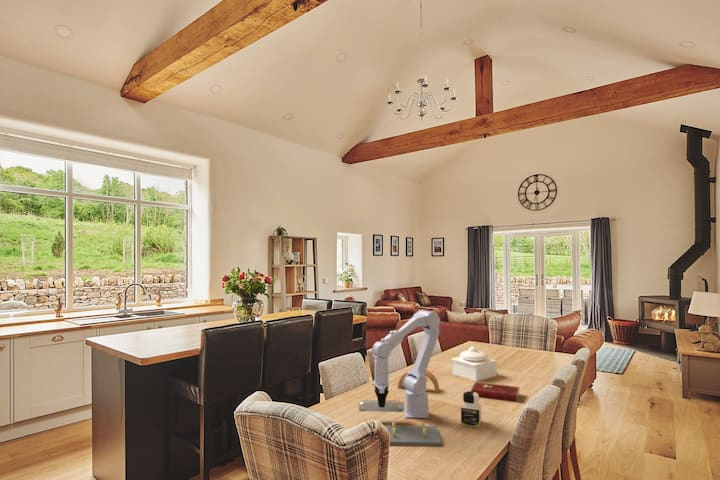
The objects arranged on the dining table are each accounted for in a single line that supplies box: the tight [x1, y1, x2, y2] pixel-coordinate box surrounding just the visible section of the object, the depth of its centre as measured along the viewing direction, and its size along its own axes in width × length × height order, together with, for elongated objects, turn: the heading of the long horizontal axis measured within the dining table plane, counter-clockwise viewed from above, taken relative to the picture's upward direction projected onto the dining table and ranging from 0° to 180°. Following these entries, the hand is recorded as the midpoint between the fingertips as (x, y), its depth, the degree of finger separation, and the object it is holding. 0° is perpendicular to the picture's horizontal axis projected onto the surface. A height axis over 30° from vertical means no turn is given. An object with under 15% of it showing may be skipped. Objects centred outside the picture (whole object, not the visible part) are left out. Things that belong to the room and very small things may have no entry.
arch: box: [397, 368, 440, 394], centre depth 213 cm, size 6×20×10 cm, turn 69°
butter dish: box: [450, 346, 498, 382], centre depth 237 cm, size 18×18×16 cm
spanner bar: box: [358, 399, 405, 413], centre depth 172 cm, size 18×3×4 cm, turn 88°
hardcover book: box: [470, 381, 520, 403], centre depth 203 cm, size 12×21×4 cm, turn 65°
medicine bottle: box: [460, 390, 482, 428], centre depth 170 cm, size 7×7×12 cm
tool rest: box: [384, 421, 443, 447], centre depth 156 cm, size 22×14×4 cm, turn 88°
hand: (381, 405), depth 172 cm, fingers closed on spanner bar, 3 cm apart
